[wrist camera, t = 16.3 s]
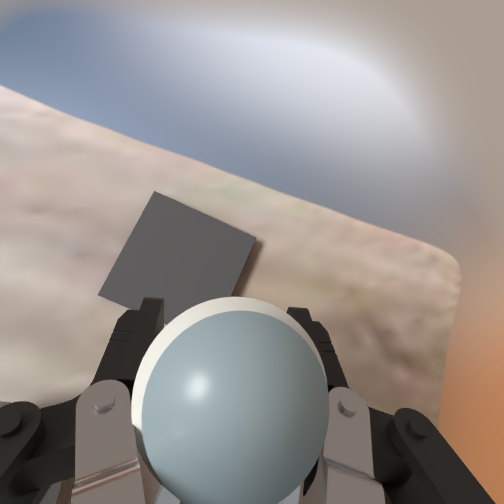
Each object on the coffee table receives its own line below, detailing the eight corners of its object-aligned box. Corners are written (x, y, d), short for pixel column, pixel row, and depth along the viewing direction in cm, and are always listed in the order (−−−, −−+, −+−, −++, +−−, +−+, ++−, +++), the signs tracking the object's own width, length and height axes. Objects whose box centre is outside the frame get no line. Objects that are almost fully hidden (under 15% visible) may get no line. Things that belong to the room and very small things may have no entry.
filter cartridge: (150, 386, 16) (74, 493, 6) (191, 294, 17) (183, 261, 7) (241, 420, 16) (306, 573, 6) (273, 328, 17) (369, 339, 8)
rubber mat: (101, 295, 26) (97, 294, 25) (156, 195, 28) (154, 191, 27) (210, 341, 27) (210, 343, 26) (254, 240, 29) (256, 237, 28)
